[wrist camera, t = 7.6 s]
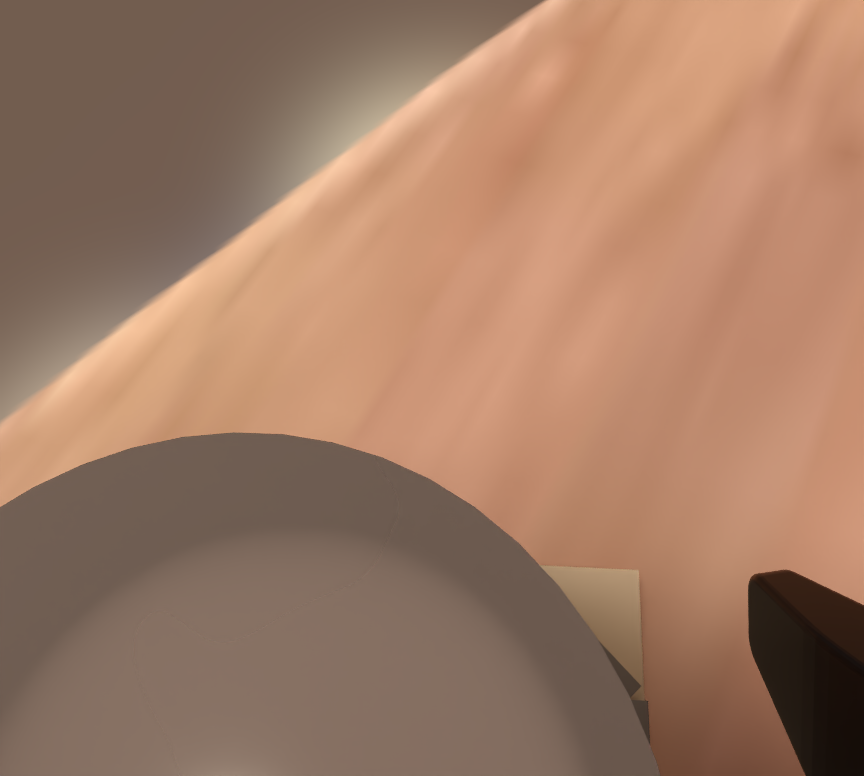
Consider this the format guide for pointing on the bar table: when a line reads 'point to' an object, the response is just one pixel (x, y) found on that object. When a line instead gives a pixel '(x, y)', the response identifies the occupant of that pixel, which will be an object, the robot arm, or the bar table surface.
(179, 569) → the steel peg
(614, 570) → the birch board
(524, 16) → the bar table surface
